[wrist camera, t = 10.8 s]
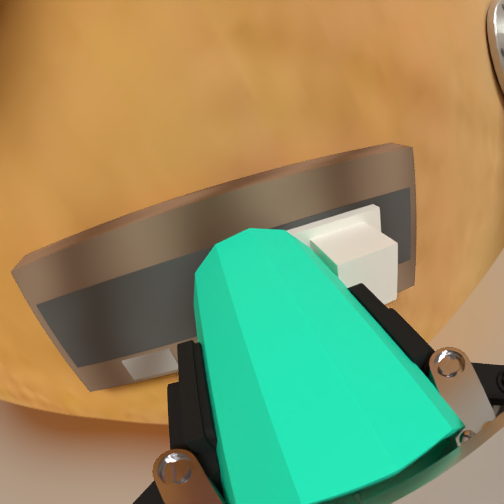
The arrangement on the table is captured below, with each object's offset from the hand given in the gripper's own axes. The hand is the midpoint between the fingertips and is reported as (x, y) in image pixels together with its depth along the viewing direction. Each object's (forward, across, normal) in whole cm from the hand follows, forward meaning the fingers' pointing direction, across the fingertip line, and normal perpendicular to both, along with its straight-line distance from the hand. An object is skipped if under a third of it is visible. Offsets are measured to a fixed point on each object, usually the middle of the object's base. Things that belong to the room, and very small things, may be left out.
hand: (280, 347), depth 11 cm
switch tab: (+5, -5, 0) cm, 7 cm away
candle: (+4, 0, 0) cm, 4 cm away
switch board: (+7, +1, 0) cm, 7 cm away
